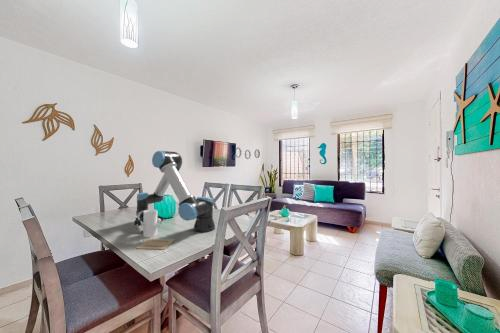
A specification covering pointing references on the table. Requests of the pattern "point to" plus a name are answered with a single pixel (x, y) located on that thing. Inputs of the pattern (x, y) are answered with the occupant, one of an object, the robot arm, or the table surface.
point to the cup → (150, 223)
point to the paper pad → (155, 244)
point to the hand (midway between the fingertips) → (152, 223)
